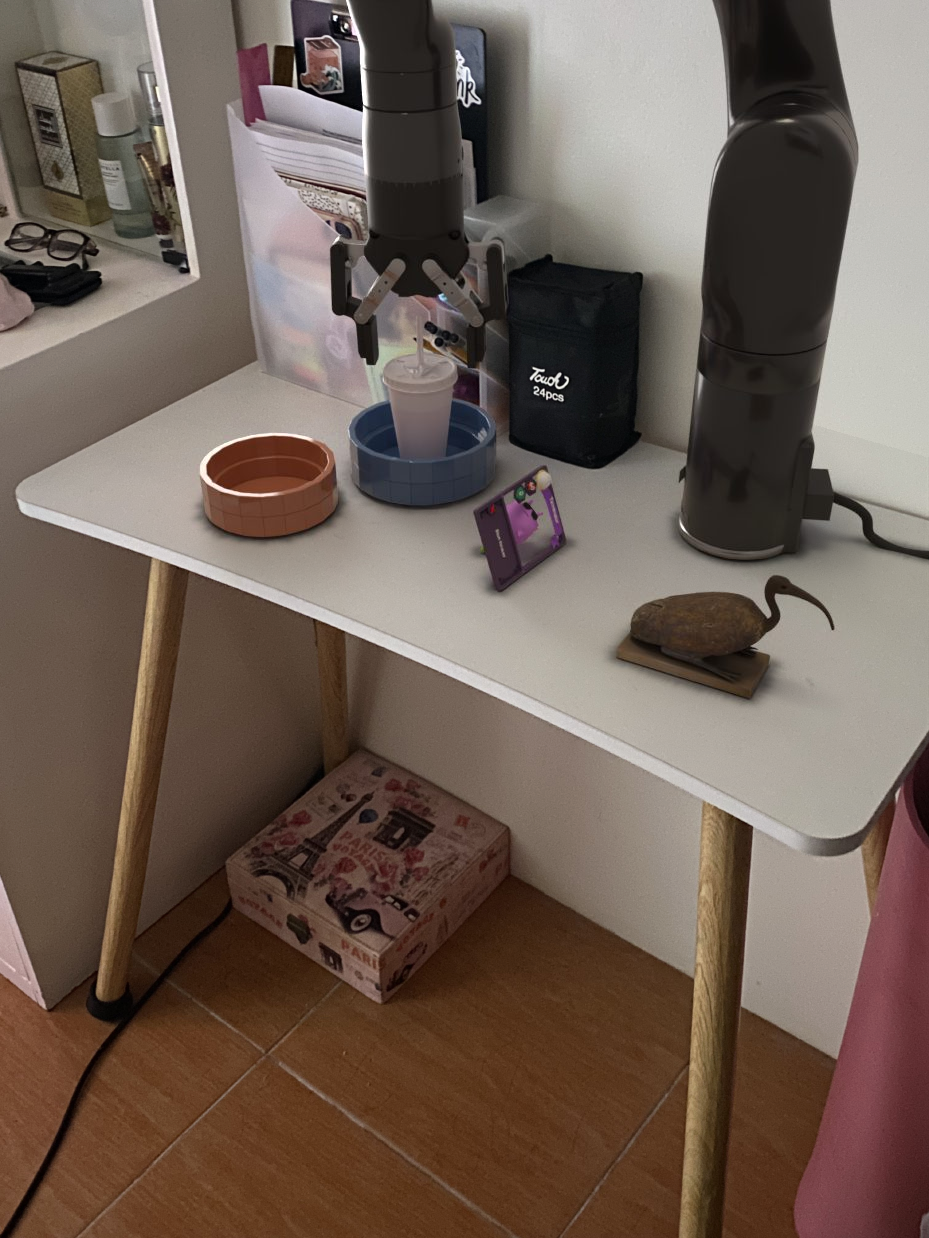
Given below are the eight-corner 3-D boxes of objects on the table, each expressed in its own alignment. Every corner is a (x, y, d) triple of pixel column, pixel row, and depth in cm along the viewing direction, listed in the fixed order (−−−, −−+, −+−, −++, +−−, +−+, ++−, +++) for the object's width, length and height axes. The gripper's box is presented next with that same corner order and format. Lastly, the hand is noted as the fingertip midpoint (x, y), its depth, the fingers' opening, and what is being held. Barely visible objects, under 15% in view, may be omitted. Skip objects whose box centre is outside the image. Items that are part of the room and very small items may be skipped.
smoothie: (462, 453, 111) (460, 304, 103) (455, 488, 106) (452, 334, 97) (392, 450, 111) (385, 302, 103) (382, 485, 106) (373, 332, 98)
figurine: (829, 681, 84) (851, 576, 79) (810, 719, 81) (832, 611, 76) (639, 625, 90) (648, 523, 84) (615, 658, 86) (622, 554, 81)
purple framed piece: (483, 510, 90) (553, 464, 96) (432, 510, 94) (503, 465, 99) (507, 591, 93) (574, 542, 98) (457, 588, 96) (524, 540, 102)
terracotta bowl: (349, 476, 108) (346, 436, 106) (321, 543, 99) (318, 500, 97) (227, 470, 110) (221, 429, 107) (188, 535, 100) (181, 492, 98)
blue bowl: (502, 443, 113) (503, 398, 111) (486, 513, 103) (487, 466, 100) (366, 436, 115) (364, 392, 112) (337, 505, 104) (334, 458, 102)
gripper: (310, 177, 91) (330, 379, 100) (500, 179, 89) (502, 385, 99) (332, 151, 97) (349, 344, 107) (510, 152, 95) (511, 348, 105)
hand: (423, 363), depth 103 cm, fingers open, 8 cm apart
